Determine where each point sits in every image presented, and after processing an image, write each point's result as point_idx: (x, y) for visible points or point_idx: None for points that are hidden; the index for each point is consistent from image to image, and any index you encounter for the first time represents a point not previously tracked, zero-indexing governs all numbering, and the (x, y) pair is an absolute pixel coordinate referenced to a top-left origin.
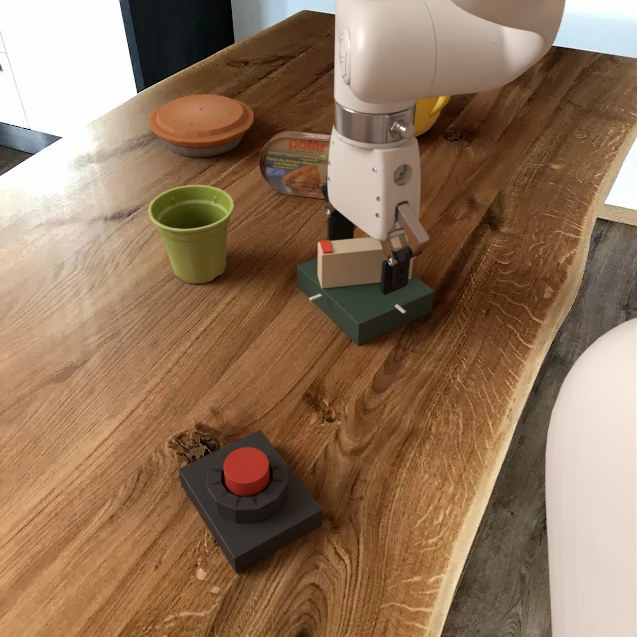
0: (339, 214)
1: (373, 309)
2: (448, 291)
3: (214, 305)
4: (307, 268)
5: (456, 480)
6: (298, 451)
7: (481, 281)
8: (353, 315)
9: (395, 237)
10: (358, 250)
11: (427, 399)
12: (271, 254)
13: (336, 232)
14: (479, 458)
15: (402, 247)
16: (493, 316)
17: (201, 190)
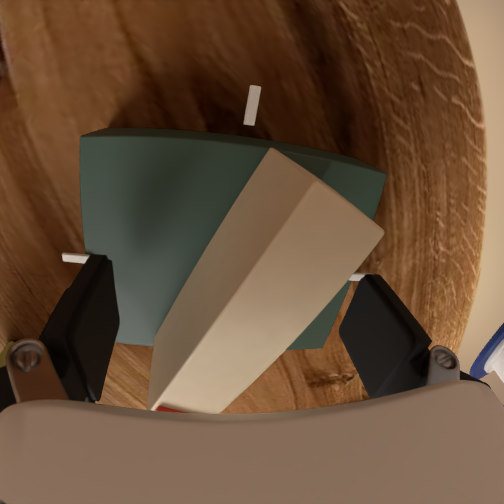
0: (80, 393)
1: (319, 314)
2: (338, 72)
3: (109, 388)
4: (121, 335)
5: (457, 326)
6: (345, 401)
7: (361, 4)
8: (300, 345)
9: (293, 256)
10: (249, 382)
11: (422, 297)
12: (20, 282)
13: (105, 351)
14: (469, 300)
15: (421, 379)
16: (432, 91)
17: None
